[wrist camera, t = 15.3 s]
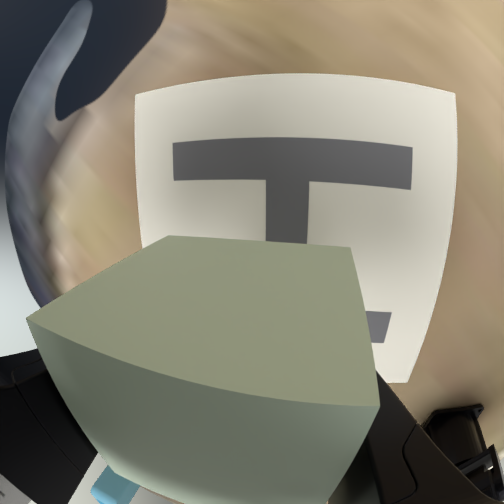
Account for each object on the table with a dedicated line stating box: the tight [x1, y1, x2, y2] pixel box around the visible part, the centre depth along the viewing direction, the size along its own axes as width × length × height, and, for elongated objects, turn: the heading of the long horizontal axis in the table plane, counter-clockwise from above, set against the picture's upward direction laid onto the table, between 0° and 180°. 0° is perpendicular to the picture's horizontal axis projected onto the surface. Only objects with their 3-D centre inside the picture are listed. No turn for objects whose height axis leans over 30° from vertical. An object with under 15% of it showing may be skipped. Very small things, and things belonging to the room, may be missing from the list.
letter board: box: [135, 73, 457, 383], centre depth 17 cm, size 20×20×1 cm
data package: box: [91, 465, 140, 504], centre depth 31 cm, size 12×4×12 cm, turn 163°
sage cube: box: [26, 235, 380, 504], centre depth 6 cm, size 6×6×6 cm
